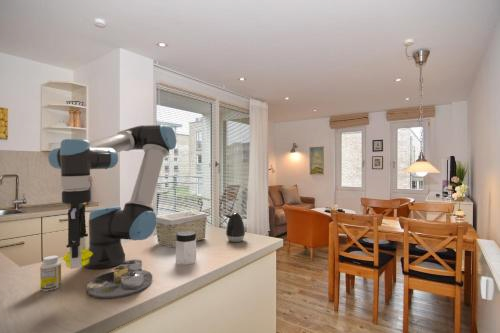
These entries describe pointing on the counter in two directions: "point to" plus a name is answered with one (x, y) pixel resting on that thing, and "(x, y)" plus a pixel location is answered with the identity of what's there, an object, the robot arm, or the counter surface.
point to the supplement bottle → (50, 273)
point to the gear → (84, 257)
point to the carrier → (120, 281)
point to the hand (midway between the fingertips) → (78, 262)
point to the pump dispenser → (235, 228)
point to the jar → (186, 247)
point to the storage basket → (180, 226)
